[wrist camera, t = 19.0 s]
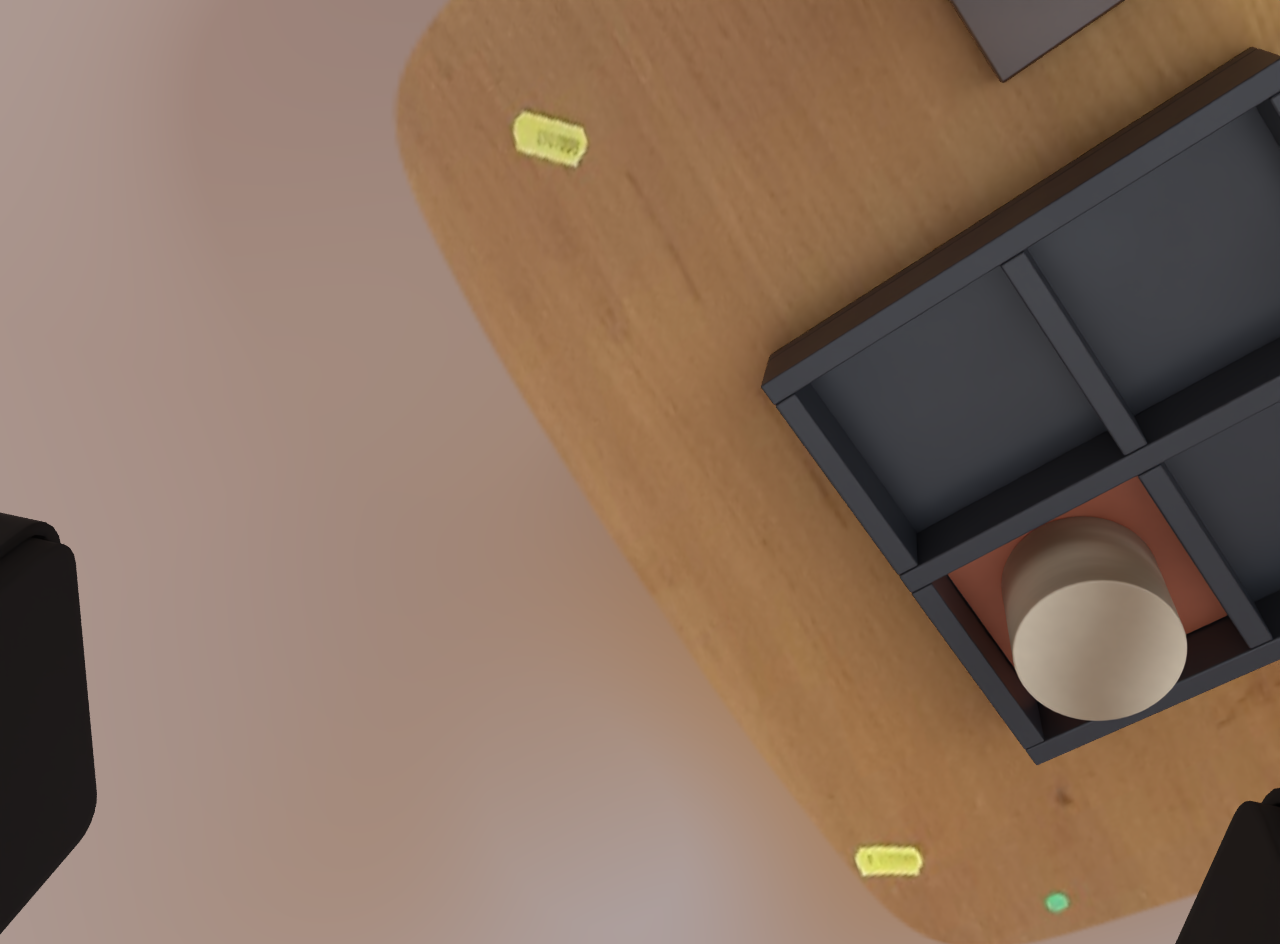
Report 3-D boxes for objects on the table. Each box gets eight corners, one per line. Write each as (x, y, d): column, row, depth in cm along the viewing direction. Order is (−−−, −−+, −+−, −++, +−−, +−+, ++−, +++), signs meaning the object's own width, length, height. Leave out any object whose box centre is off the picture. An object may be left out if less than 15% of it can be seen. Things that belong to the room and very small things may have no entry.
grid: (768, 355, 37) (760, 386, 34) (1252, 45, 31) (1283, 56, 29) (1027, 714, 40) (1036, 766, 38) (1506, 495, 34) (1554, 540, 32)
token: (983, 627, 38) (993, 700, 35) (1025, 501, 36) (1039, 563, 33) (1130, 661, 38) (1155, 738, 34) (1180, 534, 36) (1212, 601, 32)
